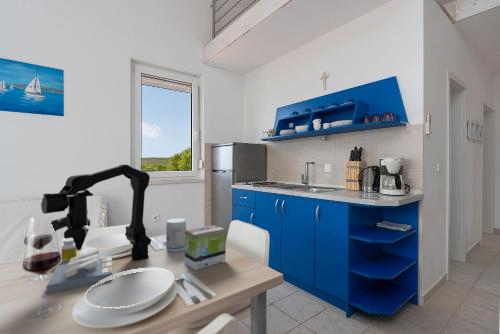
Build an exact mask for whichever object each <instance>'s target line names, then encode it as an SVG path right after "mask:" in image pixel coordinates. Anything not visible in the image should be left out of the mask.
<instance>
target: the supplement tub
mask: <svg viewBox="0 0 500 334" xmlns="http://www.w3.org/2000/svg"><path fill="white" fill-rule="evenodd" d="M186 222H187V221H186V219H185V218H180V217H177V218H170V219H168V220H166V233H165V235H166V239H165V240H166V241H165V242H166V244H165V245H166V246H165V247H166V251H168V252H171V253H178V252H182V251H185V230H187V223H186Z"/></svg>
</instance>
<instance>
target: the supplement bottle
mask: <svg viewBox="0 0 500 334" xmlns="http://www.w3.org/2000/svg"><path fill="white" fill-rule="evenodd" d="M62 244H63V245H62V246H61V247H60V248H61V251H60V252H61V255H62V258H61V259H62V261H61V265H63V264H68V263H69V262H70V259H71V258H74V257H76V256H78V255H77V249H76V246H75V243H74V240H73V238H65V239H63V240H62Z"/></svg>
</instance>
